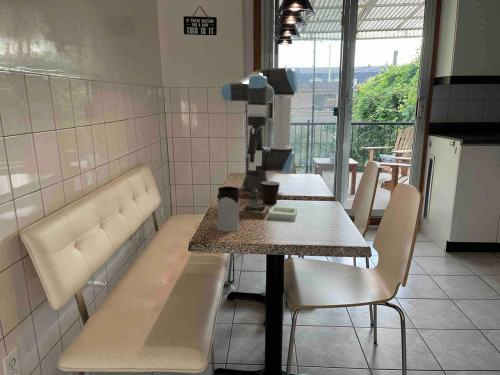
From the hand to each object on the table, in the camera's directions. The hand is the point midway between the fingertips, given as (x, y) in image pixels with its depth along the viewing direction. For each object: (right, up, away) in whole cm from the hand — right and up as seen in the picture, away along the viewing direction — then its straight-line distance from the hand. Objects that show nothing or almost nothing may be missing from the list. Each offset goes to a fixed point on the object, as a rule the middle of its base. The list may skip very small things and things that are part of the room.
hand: (255, 168), depth 157 cm
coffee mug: (+8, -16, +24) cm, 30 cm away
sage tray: (+12, -20, +2) cm, 24 cm away
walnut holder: (0, -19, +4) cm, 20 cm away
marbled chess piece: (0, -20, +4) cm, 20 cm away
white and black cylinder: (-10, -23, -12) cm, 28 cm away
